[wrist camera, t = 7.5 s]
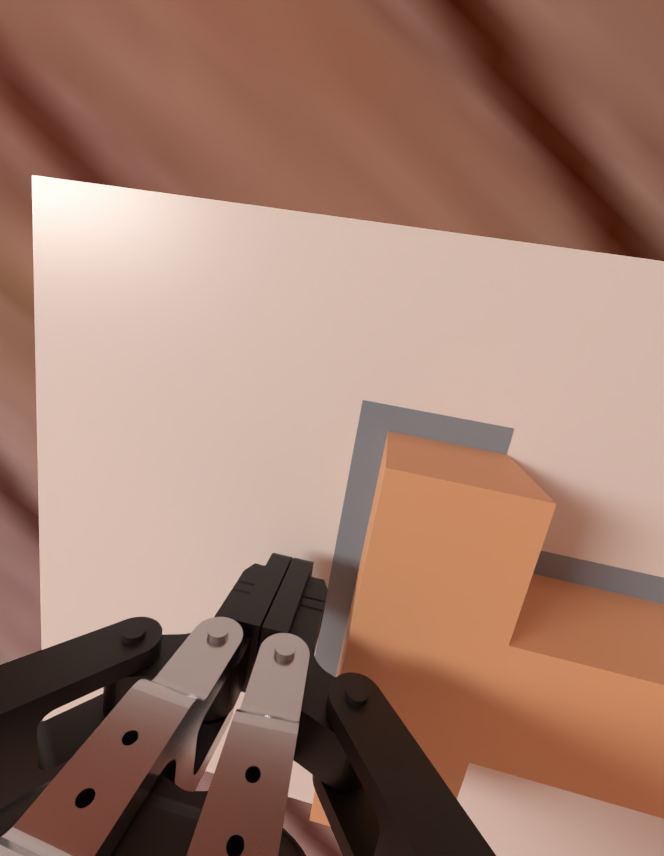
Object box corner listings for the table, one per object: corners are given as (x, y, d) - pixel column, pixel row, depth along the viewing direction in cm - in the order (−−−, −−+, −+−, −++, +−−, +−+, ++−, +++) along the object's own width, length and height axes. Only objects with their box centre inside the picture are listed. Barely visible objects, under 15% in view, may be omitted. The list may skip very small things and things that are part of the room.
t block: (773, 508, 12) (953, 587, 8) (634, 792, 15) (719, 950, 11) (387, 430, 13) (385, 467, 9) (329, 706, 16) (309, 820, 12)
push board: (1036, 318, 11) (1075, 317, 10) (694, 904, 16) (705, 926, 16) (46, 181, 14) (31, 174, 13) (53, 709, 20) (42, 720, 19)
